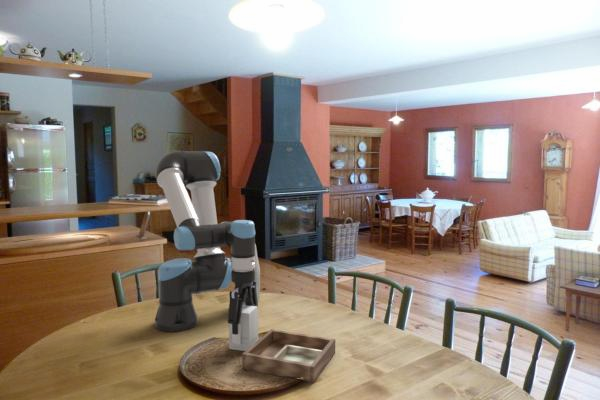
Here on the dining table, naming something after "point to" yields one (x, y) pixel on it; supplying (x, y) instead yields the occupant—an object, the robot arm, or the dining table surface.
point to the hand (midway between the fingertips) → (243, 337)
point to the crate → (289, 355)
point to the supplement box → (246, 328)
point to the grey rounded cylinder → (257, 276)
